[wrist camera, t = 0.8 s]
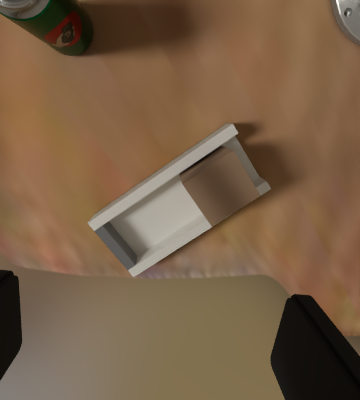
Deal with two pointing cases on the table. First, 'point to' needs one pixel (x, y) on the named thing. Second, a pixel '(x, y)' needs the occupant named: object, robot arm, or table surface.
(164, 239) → the chute
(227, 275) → the table surface
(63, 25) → the soda can
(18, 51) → the table surface
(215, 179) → the walnut block
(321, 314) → the robot arm
